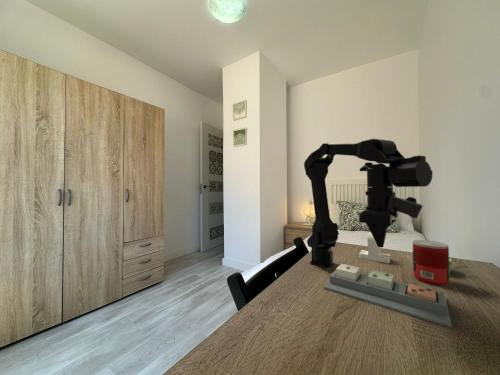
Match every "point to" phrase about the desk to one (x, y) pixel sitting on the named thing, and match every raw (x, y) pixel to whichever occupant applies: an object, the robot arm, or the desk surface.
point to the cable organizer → (374, 252)
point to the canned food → (431, 262)
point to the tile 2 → (381, 280)
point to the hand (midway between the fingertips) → (380, 247)
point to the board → (393, 298)
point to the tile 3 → (421, 292)
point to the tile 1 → (348, 272)
